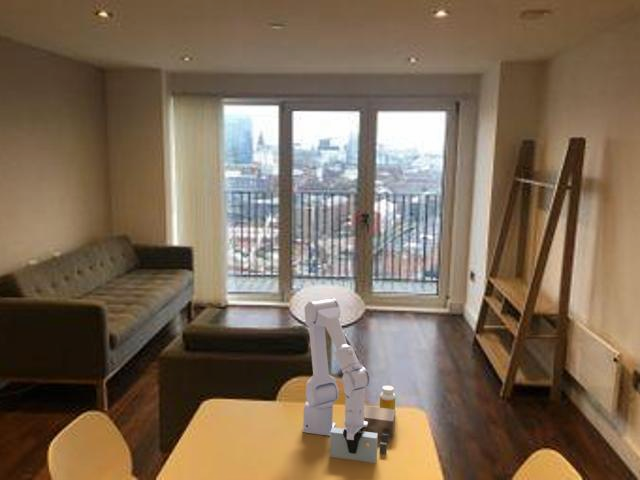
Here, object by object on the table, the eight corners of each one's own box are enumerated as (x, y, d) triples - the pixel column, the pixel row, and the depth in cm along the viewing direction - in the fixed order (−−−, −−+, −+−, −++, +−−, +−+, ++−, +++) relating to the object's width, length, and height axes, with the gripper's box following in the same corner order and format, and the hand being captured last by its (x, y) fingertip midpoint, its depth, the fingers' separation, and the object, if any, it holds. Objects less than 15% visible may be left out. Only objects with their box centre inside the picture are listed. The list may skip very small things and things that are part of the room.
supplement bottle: (394, 418, 190) (395, 392, 189) (378, 416, 191) (379, 390, 190) (395, 410, 196) (396, 385, 194) (380, 409, 197) (381, 383, 195)
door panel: (328, 458, 166) (329, 434, 164) (331, 451, 170) (332, 427, 168) (375, 465, 163) (376, 440, 161) (376, 457, 167) (377, 433, 165)
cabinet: (341, 447, 172) (341, 429, 171) (350, 420, 188) (351, 404, 187) (389, 454, 168) (390, 436, 167) (394, 426, 185) (395, 409, 184)
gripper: (364, 421, 156) (363, 464, 159) (371, 398, 170) (370, 438, 172) (340, 418, 158) (338, 461, 160) (348, 395, 172) (347, 435, 174)
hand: (353, 449), depth 166 cm, fingers closed on door panel, 3 cm apart
